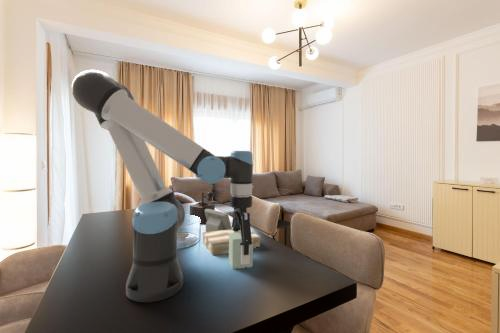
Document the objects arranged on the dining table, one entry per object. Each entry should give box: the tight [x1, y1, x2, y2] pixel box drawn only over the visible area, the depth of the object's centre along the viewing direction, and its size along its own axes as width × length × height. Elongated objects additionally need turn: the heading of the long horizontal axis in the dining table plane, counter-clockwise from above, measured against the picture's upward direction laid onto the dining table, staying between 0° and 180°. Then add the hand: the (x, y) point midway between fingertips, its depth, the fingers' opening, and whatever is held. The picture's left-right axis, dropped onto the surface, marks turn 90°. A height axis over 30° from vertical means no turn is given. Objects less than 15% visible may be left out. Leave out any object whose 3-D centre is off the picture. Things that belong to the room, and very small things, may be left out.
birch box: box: [202, 228, 261, 256], centre depth 105 cm, size 14×20×5 cm
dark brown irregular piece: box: [189, 191, 216, 225], centre depth 140 cm, size 16×11×18 cm
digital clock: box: [205, 209, 233, 232], centre depth 123 cm, size 16×9×11 cm, turn 38°
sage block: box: [228, 232, 254, 270], centre depth 87 cm, size 7×7×10 cm
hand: (240, 255), depth 87 cm, fingers open, 13 cm apart
